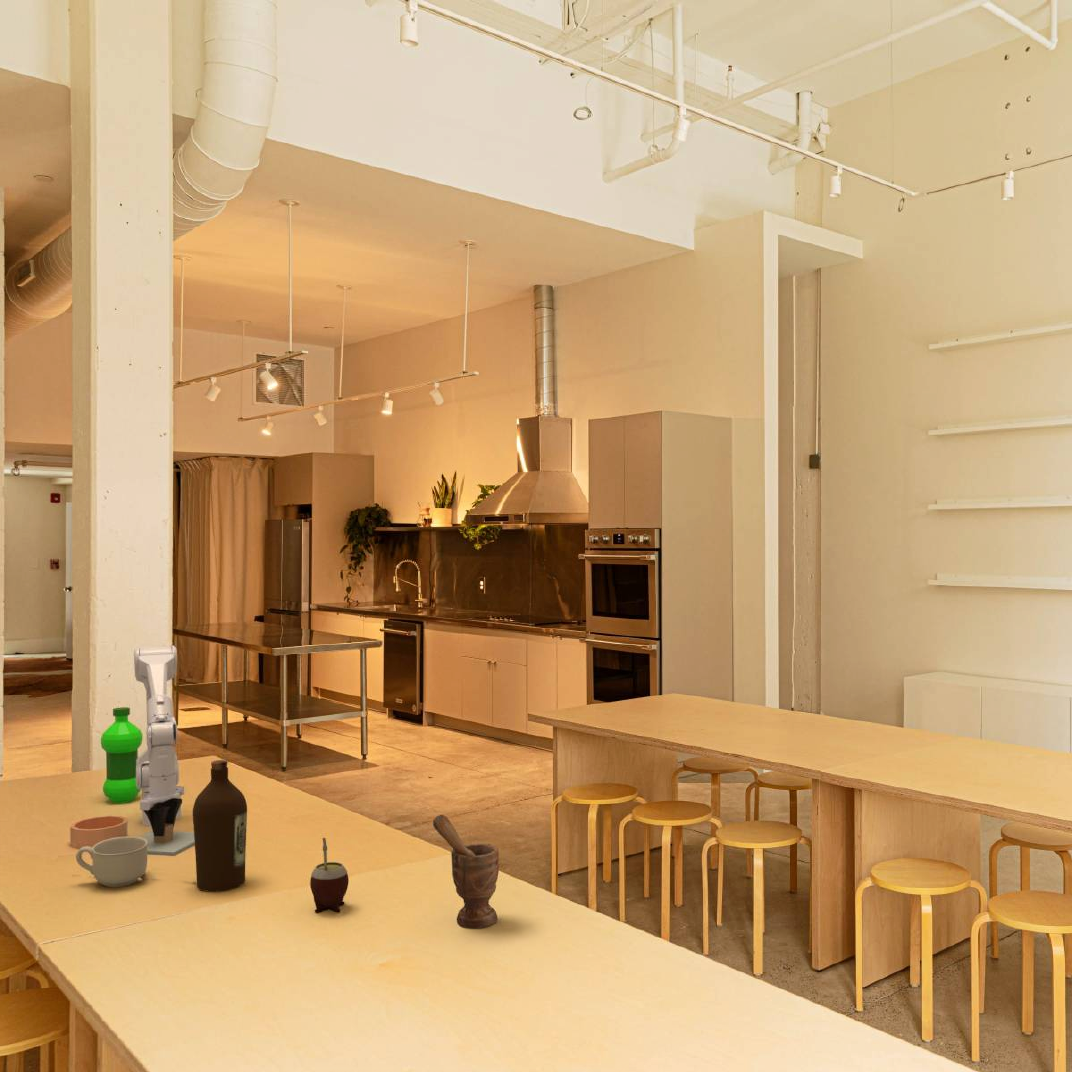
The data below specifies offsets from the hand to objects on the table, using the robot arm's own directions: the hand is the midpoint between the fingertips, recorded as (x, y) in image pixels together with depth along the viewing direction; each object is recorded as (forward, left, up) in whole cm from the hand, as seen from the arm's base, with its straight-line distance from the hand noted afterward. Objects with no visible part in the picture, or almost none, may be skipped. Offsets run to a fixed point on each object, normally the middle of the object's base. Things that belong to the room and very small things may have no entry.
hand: (163, 833), depth 237 cm
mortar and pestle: (+32, +83, -3) cm, 89 cm away
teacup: (+24, +4, -3) cm, 25 cm away
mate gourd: (+30, +55, -3) cm, 63 cm away
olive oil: (+21, +27, -3) cm, 34 cm away
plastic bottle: (-36, -36, -3) cm, 51 cm away
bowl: (+1, -16, -3) cm, 16 cm away
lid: (0, 0, -2) cm, 2 cm away
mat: (0, 0, -3) cm, 3 cm away
